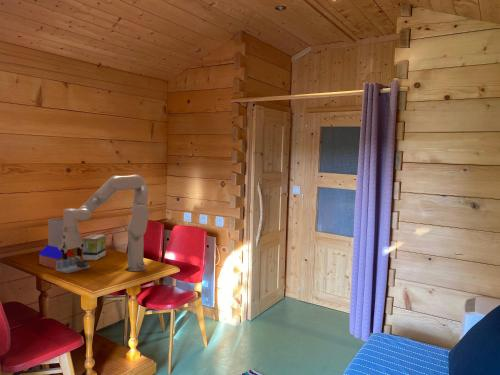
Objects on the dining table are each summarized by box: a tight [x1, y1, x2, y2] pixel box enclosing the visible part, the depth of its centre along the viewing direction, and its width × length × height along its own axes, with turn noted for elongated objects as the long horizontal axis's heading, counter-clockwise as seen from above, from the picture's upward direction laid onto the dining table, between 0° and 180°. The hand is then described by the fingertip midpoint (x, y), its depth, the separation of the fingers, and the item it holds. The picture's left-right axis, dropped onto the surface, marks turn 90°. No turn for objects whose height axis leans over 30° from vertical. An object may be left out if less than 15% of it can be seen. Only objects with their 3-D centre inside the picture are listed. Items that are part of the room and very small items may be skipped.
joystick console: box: [55, 256, 91, 274], centre depth 239 cm, size 11×16×5 cm
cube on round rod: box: [75, 258, 89, 268], centre depth 241 cm, size 10×4×4 cm, turn 61°
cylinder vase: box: [47, 217, 70, 251], centre depth 270 cm, size 12×12×25 cm
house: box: [38, 245, 76, 269], centre depth 246 cm, size 12×20×12 cm, turn 61°
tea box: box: [82, 234, 107, 261], centre depth 267 cm, size 15×10×15 cm, turn 179°
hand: (72, 257), depth 234 cm, fingers open, 9 cm apart
